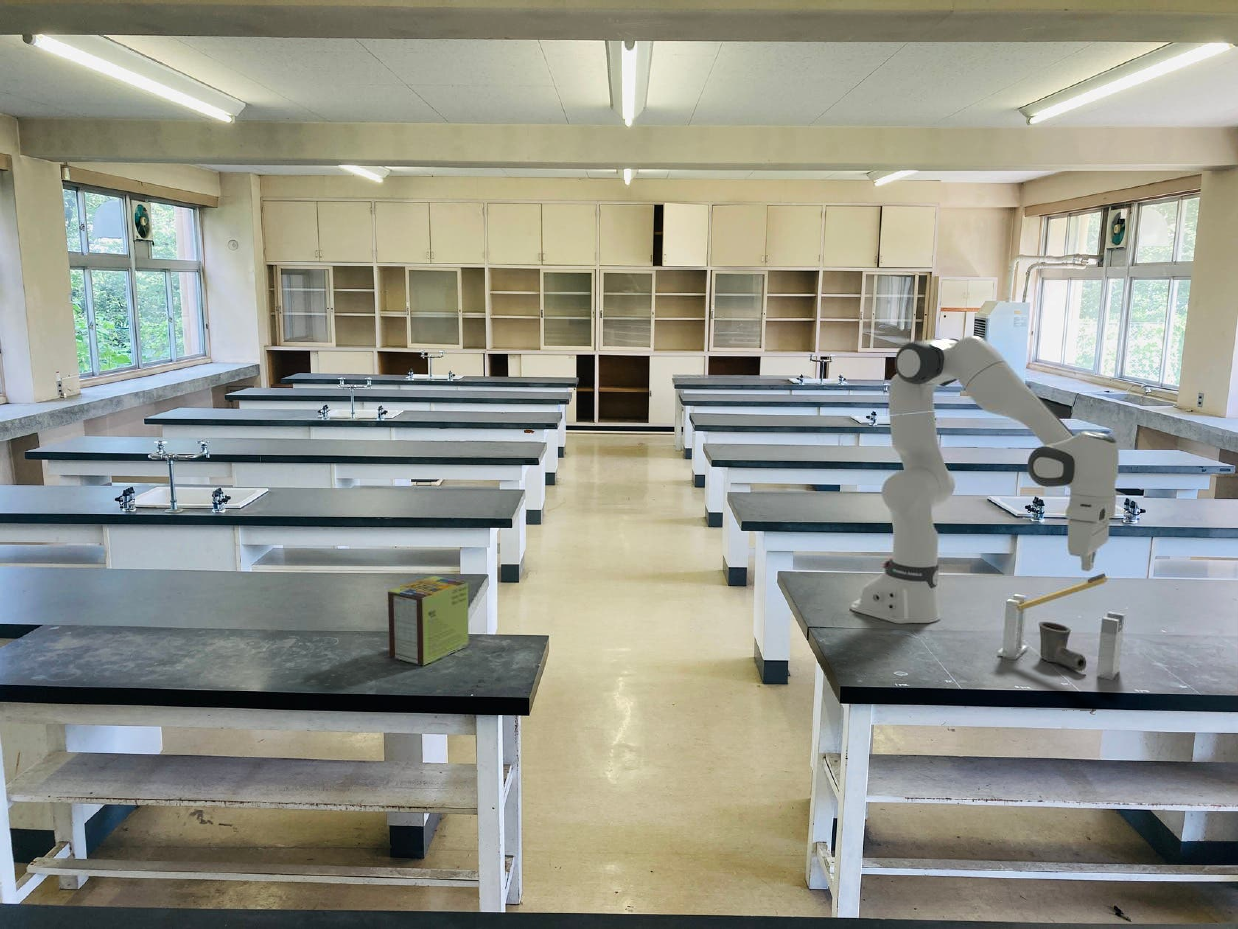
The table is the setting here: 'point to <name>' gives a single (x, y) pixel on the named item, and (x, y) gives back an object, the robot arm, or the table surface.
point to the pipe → (1059, 646)
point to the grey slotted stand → (1014, 629)
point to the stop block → (1110, 645)
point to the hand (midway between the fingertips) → (1087, 569)
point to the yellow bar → (1065, 592)
